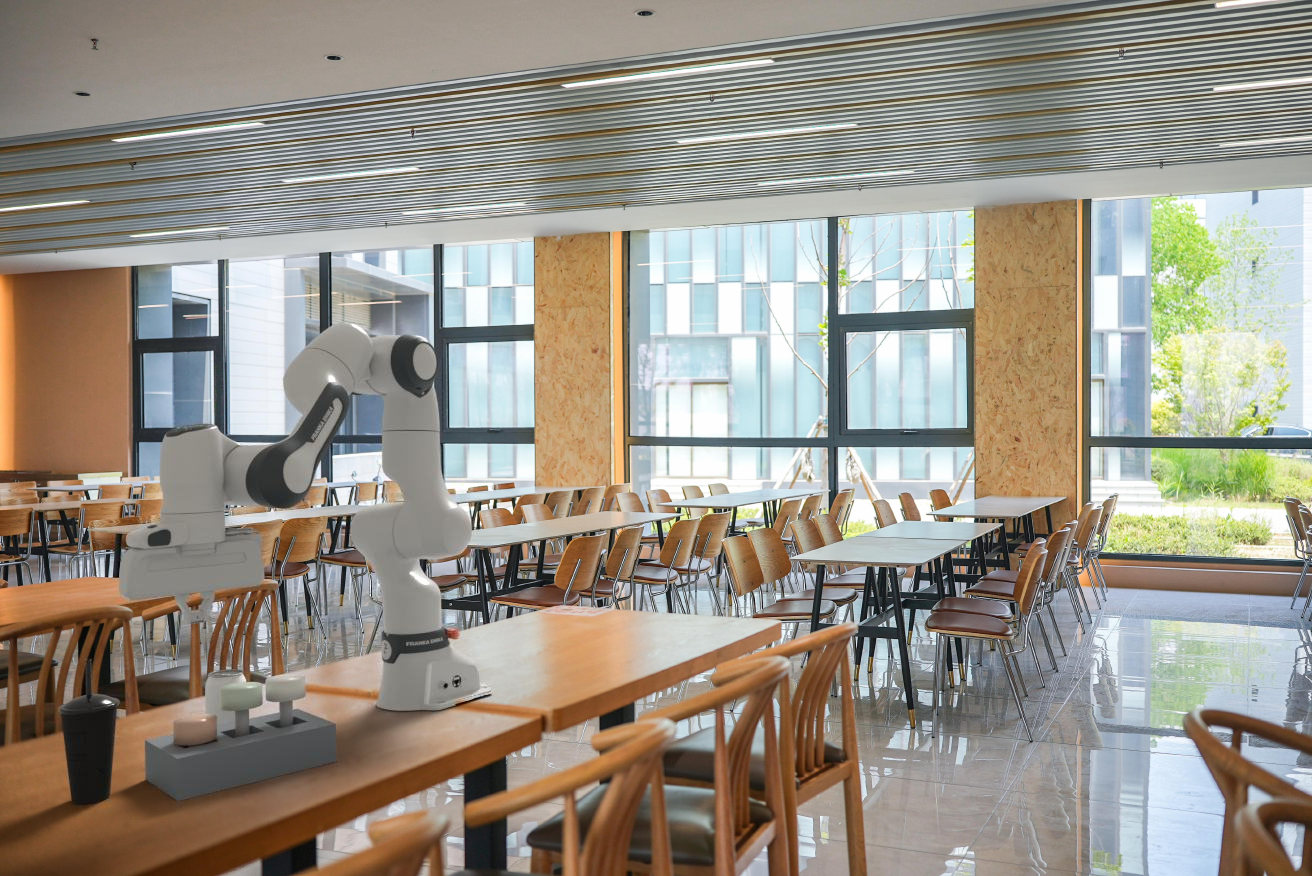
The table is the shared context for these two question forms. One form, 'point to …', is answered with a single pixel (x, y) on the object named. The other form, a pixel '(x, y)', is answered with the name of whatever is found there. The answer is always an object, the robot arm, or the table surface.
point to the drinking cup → (89, 743)
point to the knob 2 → (285, 694)
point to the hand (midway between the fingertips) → (195, 622)
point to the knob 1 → (195, 729)
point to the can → (214, 693)
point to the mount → (240, 755)
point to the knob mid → (241, 703)
